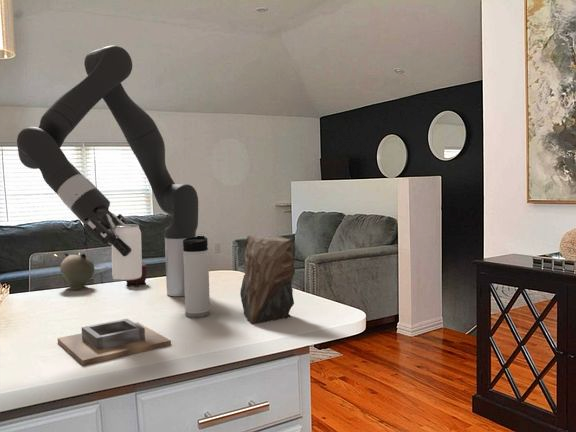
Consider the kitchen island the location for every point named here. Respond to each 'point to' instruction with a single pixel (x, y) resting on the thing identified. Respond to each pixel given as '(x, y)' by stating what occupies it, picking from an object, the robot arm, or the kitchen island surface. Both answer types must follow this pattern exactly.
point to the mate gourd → (141, 280)
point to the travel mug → (196, 277)
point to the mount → (111, 341)
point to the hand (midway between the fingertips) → (134, 251)
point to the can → (131, 263)
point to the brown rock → (267, 279)
